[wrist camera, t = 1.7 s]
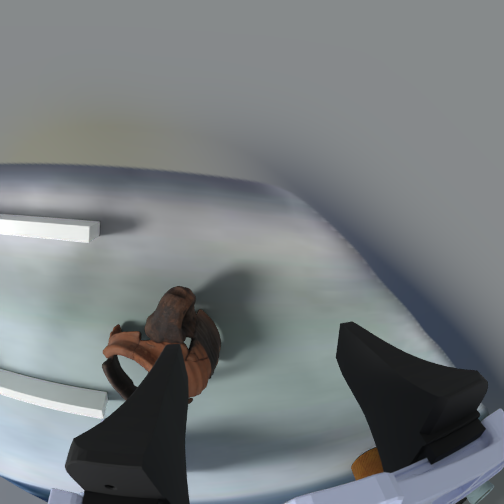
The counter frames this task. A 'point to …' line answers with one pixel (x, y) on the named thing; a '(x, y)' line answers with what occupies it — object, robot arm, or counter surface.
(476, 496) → the grey tapered cup
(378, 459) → the disposable coffee cup
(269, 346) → the counter surface
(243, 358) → the counter surface
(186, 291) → the pottery mug
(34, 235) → the u-shaped white bracket
